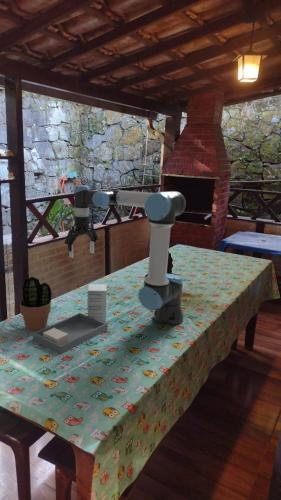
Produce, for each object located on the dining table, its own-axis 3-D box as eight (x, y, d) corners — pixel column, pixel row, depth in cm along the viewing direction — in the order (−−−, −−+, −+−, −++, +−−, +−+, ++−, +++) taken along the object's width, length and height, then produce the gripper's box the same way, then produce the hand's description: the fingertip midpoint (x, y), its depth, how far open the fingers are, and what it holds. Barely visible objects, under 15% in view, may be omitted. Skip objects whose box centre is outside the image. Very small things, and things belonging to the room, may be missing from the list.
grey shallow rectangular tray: (107, 331, 169) (107, 323, 168) (61, 355, 147) (61, 346, 146) (79, 320, 180) (79, 312, 179) (32, 341, 157) (32, 333, 156)
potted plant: (35, 338, 161) (33, 284, 154) (14, 329, 167) (11, 277, 161) (57, 327, 172) (56, 276, 166) (37, 319, 179) (35, 270, 173)
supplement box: (88, 314, 186) (88, 283, 182) (106, 314, 187) (107, 283, 183) (87, 323, 177) (87, 290, 173) (106, 323, 178) (106, 290, 174)
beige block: (68, 342, 156) (68, 334, 155) (57, 348, 151) (57, 339, 150) (54, 336, 161) (54, 327, 160) (43, 341, 156) (43, 332, 155)
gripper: (95, 212, 201) (95, 250, 206) (57, 216, 183) (57, 257, 189) (104, 214, 196) (104, 252, 201) (65, 218, 178) (66, 260, 184)
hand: (81, 255), depth 195 cm, fingers open, 13 cm apart
